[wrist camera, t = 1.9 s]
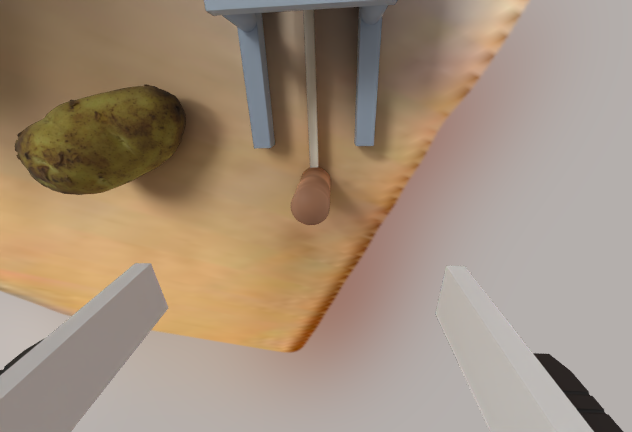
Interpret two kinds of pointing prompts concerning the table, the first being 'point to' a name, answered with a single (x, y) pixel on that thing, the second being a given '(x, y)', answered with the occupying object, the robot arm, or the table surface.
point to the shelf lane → (246, 13)
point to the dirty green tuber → (102, 140)
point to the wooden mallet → (311, 145)
